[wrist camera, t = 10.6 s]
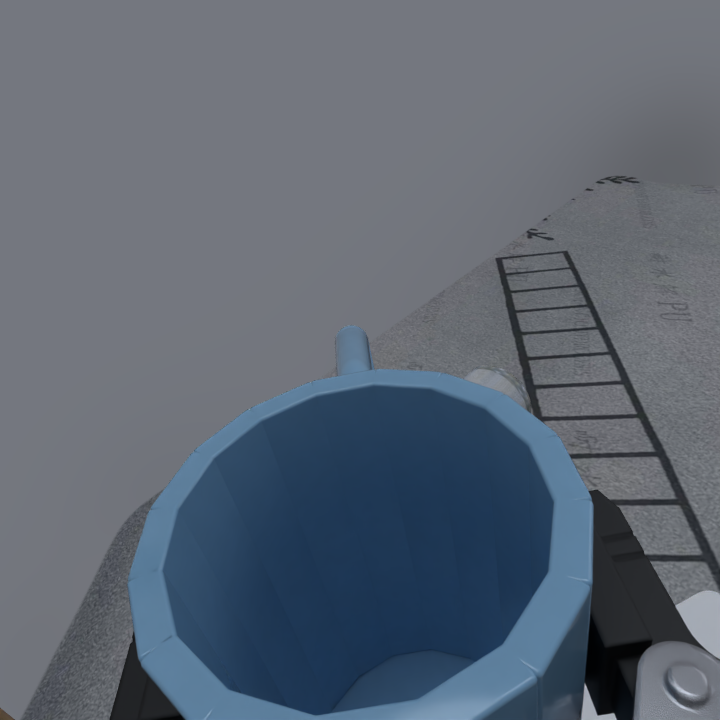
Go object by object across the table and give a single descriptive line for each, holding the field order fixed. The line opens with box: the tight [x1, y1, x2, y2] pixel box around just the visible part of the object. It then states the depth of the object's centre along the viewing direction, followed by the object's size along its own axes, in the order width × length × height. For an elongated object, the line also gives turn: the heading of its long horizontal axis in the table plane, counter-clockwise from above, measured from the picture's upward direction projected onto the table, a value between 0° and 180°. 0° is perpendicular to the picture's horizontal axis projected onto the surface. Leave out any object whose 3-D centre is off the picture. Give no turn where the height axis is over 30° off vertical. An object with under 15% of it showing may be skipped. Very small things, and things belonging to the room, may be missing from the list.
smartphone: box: [582, 591, 720, 720], centre depth 30 cm, size 7×1×15 cm
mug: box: [127, 325, 594, 720], centre depth 13 cm, size 11×6×10 cm, turn 3°
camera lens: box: [463, 366, 531, 413], centre depth 46 cm, size 6×6×8 cm
